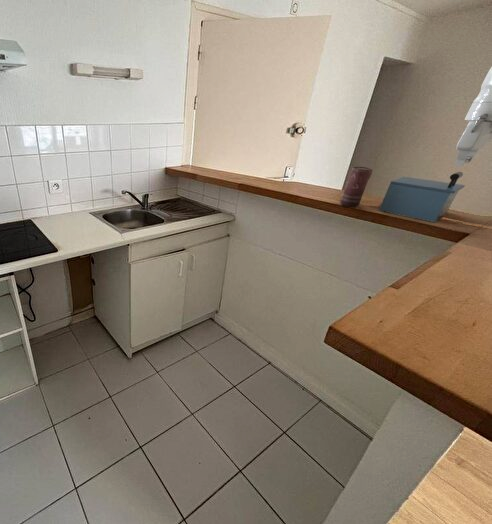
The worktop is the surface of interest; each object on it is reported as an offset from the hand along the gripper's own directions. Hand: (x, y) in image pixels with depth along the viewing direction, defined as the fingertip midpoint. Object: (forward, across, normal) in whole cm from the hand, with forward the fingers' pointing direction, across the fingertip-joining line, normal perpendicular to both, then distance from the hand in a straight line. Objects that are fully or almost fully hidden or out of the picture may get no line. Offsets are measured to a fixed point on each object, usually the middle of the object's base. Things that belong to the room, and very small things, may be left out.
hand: (462, 163), depth 88 cm
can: (+18, -8, +23) cm, 30 cm away
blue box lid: (+8, 0, +6) cm, 10 cm away
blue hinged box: (+18, 0, +6) cm, 19 cm away
